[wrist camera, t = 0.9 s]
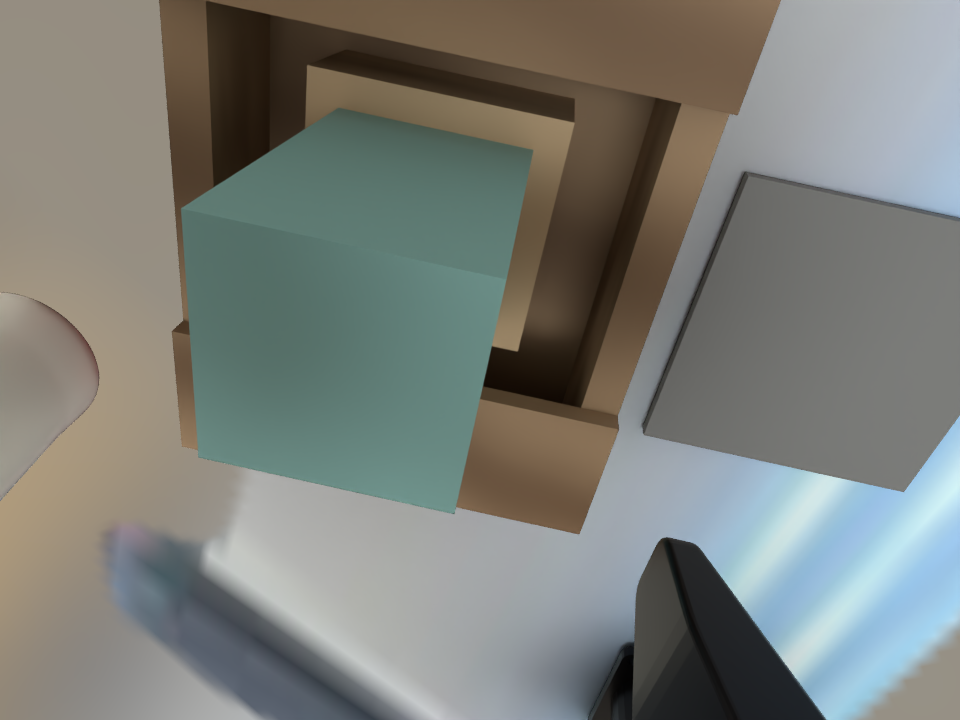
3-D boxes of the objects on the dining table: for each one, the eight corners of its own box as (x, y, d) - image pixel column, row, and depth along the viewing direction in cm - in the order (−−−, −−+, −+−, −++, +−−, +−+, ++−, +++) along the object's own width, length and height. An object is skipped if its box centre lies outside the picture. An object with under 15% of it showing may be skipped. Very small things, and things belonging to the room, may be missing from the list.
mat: (898, 483, 22) (903, 492, 22) (642, 427, 23) (643, 434, 22) (1071, 242, 18) (1081, 248, 17) (745, 172, 18) (748, 175, 17)
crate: (578, 437, 23) (579, 534, 19) (247, 364, 23) (182, 446, 19) (763, -111, 15) (832, -137, 11) (238, -224, 15) (117, -288, 11)
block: (495, 321, 17) (454, 514, 11) (328, 284, 17) (198, 457, 11) (533, 149, 15) (506, 279, 9) (338, 108, 15) (181, 209, 9)
